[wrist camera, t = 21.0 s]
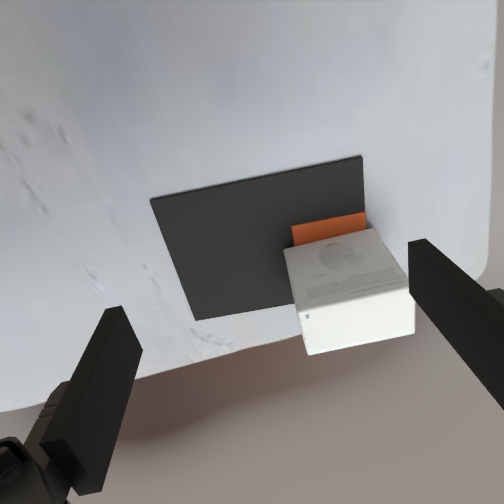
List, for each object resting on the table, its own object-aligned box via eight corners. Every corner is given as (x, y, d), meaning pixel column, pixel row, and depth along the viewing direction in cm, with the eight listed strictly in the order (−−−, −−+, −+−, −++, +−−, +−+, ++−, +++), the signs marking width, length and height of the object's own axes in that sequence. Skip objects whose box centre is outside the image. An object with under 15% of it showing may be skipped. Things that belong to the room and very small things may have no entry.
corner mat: (195, 319, 47) (195, 322, 46) (150, 199, 38) (148, 201, 37) (367, 288, 45) (368, 291, 44) (361, 156, 36) (363, 157, 35)
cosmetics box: (293, 291, 44) (307, 359, 35) (282, 248, 41) (295, 310, 32) (379, 272, 43) (416, 337, 34) (375, 226, 40) (415, 284, 31)
